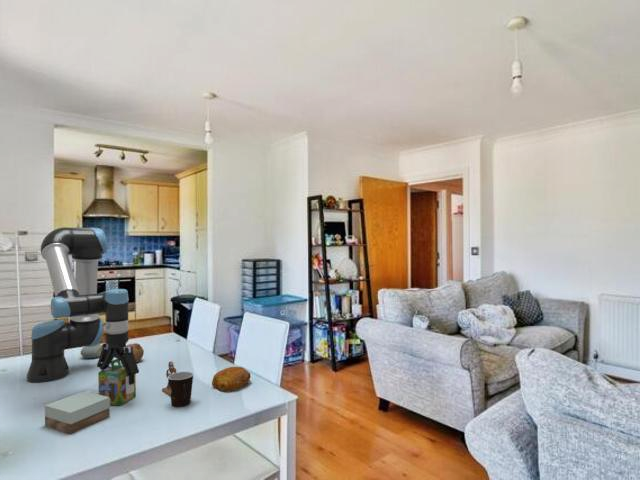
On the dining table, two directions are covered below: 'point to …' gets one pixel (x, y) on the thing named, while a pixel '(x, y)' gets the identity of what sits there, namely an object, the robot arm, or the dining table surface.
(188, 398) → the coffee mug
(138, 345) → the onion
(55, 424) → the walnut base slab
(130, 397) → the chalk box
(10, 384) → the dining table surface
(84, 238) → the robot arm
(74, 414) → the grey-green top slab
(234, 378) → the potato
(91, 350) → the grey rounded lump
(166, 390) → the brown scrollwork ornament
